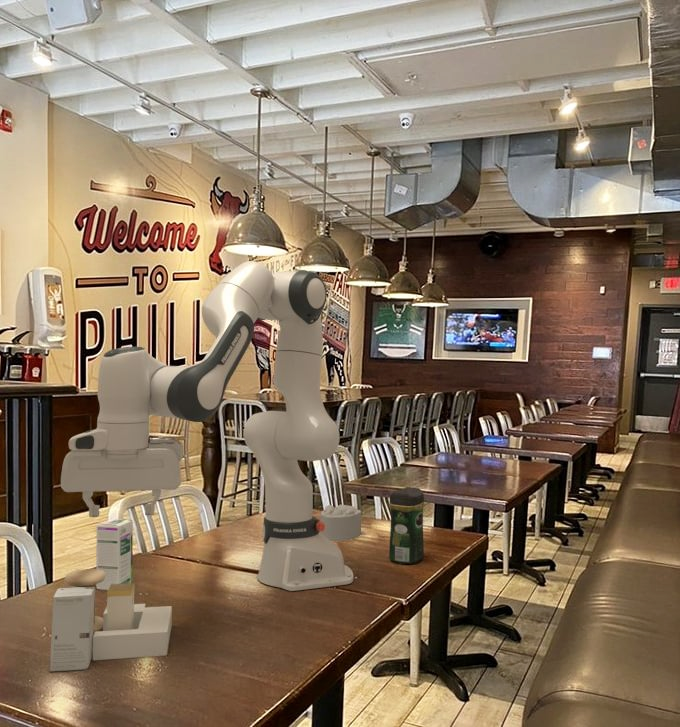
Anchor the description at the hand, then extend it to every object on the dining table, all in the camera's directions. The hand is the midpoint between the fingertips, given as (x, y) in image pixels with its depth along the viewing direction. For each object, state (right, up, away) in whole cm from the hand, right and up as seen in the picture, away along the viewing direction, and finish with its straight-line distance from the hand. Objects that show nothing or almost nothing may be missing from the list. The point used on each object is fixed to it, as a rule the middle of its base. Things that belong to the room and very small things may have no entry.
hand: (122, 515), depth 113 cm
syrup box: (-12, -23, +29) cm, 39 cm away
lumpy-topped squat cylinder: (+38, -24, +75) cm, 87 cm away
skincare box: (-5, -23, -8) cm, 25 cm away
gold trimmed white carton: (0, -23, 0) cm, 23 cm away
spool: (-9, -23, +6) cm, 25 cm away
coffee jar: (+56, -24, +53) cm, 81 cm away
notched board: (+2, -23, 0) cm, 23 cm away
